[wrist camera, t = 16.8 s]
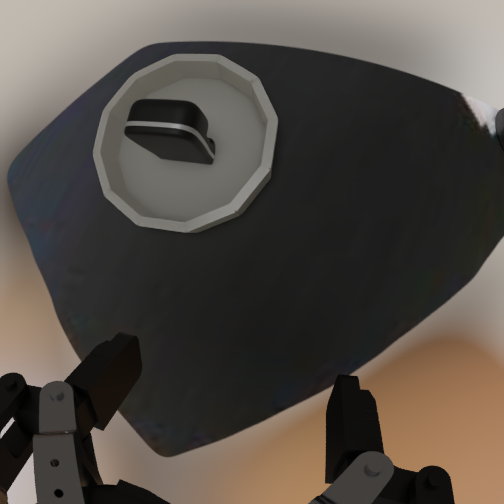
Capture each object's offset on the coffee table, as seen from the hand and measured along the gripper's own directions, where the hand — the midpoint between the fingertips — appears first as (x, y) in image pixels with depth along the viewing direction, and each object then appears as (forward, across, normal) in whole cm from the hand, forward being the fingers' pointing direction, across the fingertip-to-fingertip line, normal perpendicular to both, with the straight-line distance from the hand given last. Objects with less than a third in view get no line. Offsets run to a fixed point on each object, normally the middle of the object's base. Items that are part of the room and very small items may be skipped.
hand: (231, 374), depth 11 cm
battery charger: (+26, +12, -7) cm, 29 cm away
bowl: (+27, +12, -7) cm, 30 cm away
